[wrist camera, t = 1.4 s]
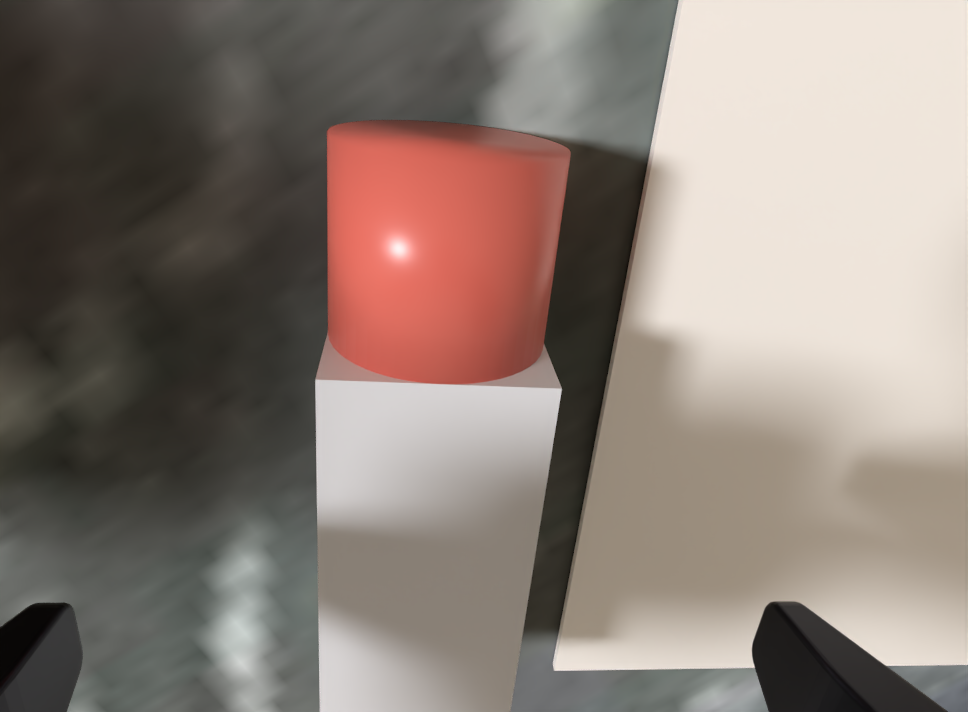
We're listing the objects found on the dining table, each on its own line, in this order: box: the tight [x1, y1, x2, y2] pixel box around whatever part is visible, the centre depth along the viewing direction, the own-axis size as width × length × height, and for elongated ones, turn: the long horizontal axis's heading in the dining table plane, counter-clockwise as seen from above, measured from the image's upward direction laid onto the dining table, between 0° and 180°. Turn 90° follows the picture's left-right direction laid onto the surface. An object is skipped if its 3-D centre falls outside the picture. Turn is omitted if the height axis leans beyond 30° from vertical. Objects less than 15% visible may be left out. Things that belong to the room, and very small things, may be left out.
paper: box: [553, 0, 968, 671], centre depth 14 cm, size 18×13×1 cm
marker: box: [315, 120, 571, 712], centre depth 12 cm, size 11×3×3 cm, turn 175°
